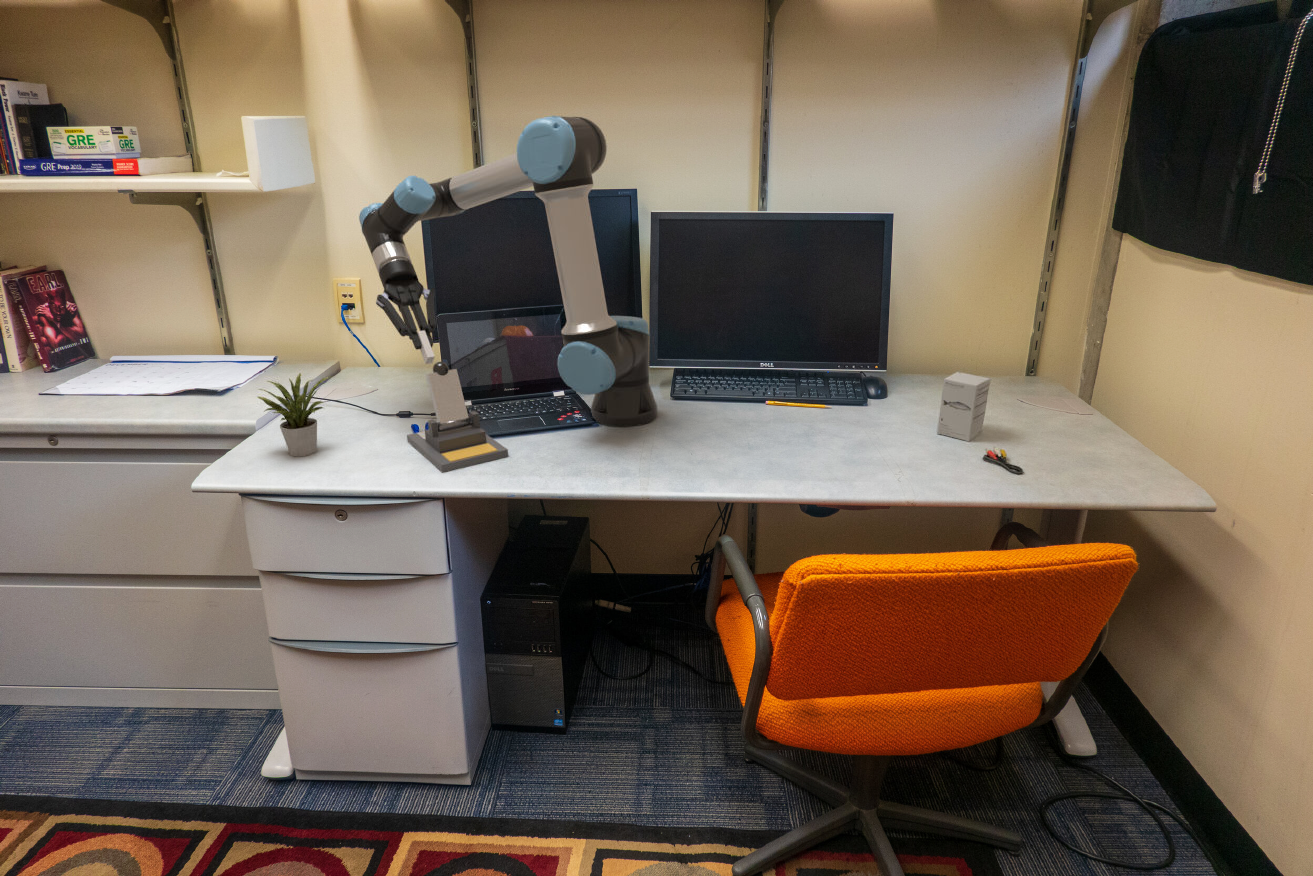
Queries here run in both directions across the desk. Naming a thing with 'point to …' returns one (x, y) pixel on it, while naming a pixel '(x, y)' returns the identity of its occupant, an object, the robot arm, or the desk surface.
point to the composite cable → (1001, 460)
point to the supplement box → (963, 406)
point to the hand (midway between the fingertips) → (430, 360)
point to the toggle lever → (447, 398)
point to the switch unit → (457, 445)
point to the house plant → (297, 417)
